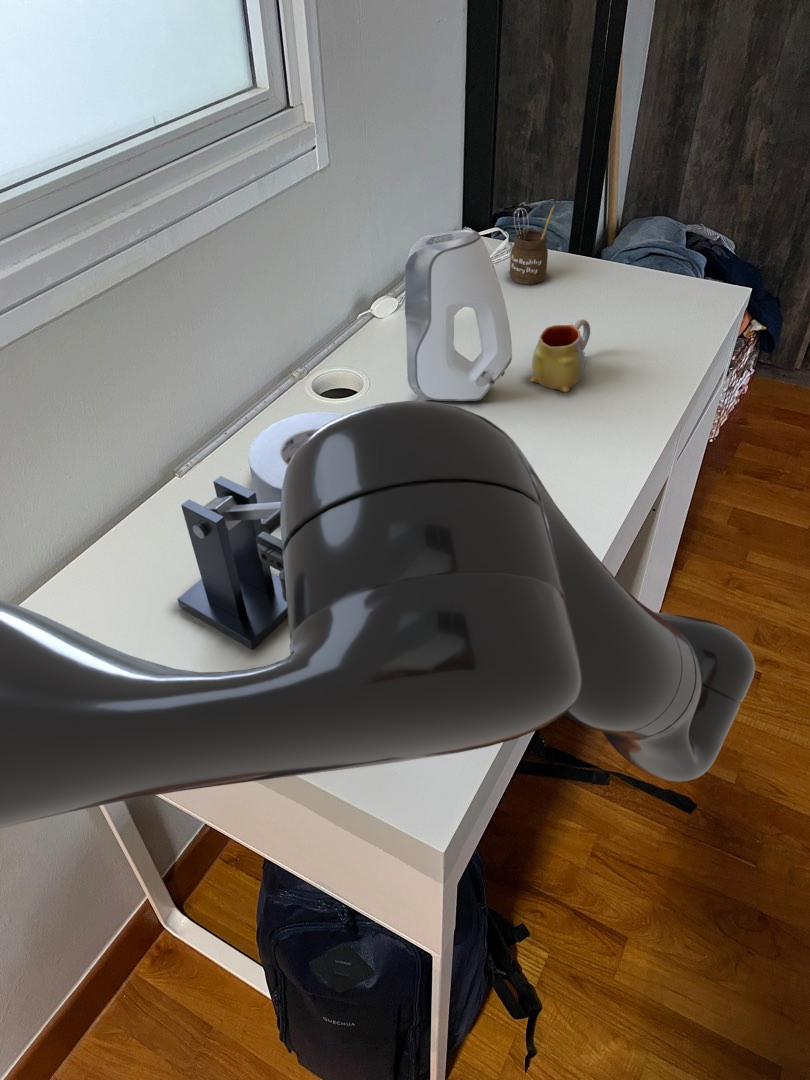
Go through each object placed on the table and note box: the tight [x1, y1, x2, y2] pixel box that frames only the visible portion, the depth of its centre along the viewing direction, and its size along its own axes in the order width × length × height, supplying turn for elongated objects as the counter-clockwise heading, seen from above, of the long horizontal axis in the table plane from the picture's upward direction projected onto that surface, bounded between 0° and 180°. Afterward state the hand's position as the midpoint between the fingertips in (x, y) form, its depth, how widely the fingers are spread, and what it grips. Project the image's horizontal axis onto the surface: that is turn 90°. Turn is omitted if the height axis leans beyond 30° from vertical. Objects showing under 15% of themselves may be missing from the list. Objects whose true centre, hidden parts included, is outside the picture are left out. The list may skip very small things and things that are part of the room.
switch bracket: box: [177, 475, 288, 651], centre depth 78 cm, size 10×8×14 cm
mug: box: [530, 319, 591, 393], centre depth 111 cm, size 12×7×7 cm, turn 141°
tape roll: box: [248, 411, 346, 504], centre depth 95 cm, size 15×15×5 cm
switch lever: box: [203, 496, 281, 535], centre depth 71 cm, size 12×6×2 cm, turn 54°
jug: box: [404, 229, 513, 402], centre depth 102 cm, size 13×5×22 cm, turn 83°
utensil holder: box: [509, 204, 556, 286], centre depth 130 cm, size 6×6×12 cm
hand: (295, 513), depth 67 cm, fingers open, 8 cm apart
